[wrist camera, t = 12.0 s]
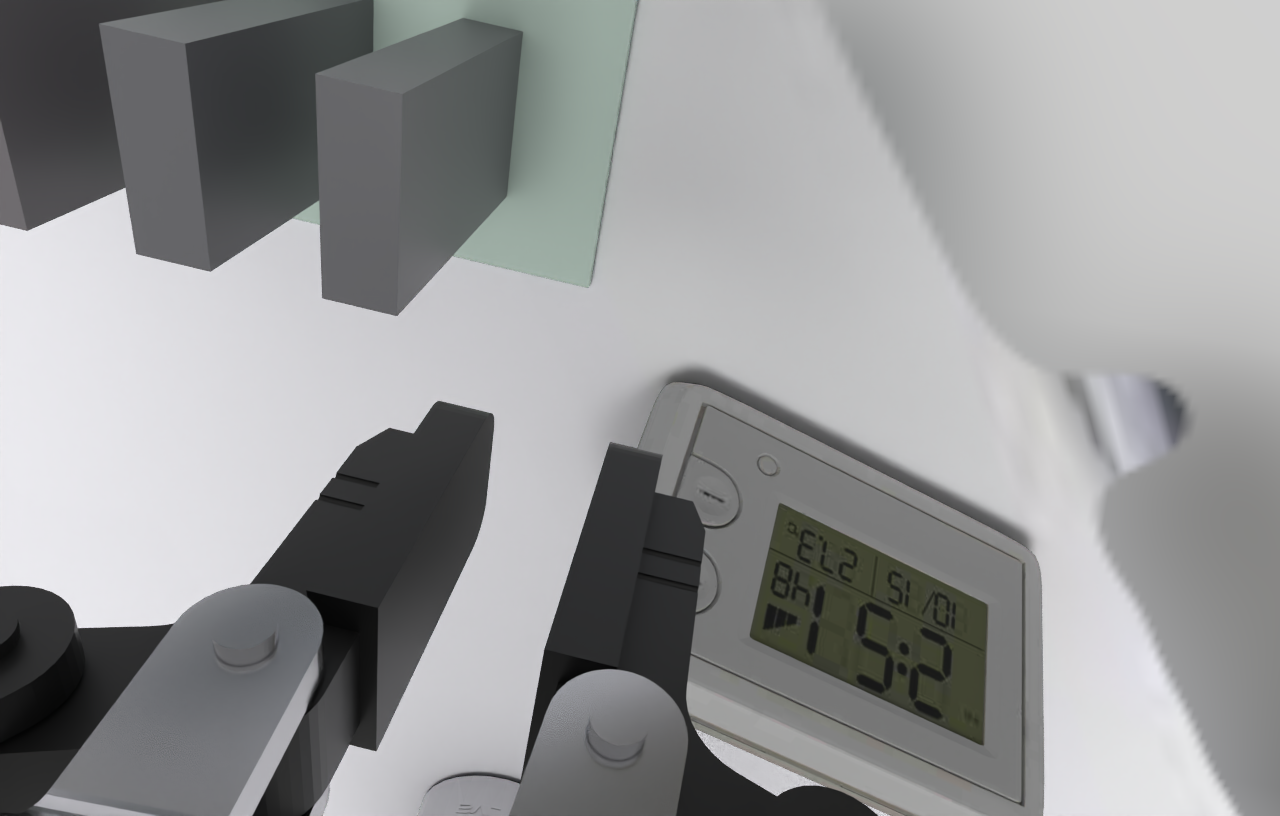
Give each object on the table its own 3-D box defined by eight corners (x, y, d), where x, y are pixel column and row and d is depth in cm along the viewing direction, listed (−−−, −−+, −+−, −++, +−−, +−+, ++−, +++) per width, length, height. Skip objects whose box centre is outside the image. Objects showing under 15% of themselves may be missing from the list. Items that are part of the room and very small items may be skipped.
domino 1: (240, 136, 27) (27, 231, 19) (187, 124, 27) (-46, 213, 19) (225, -35, 24) (-30, -3, 16) (167, -47, 24) (-114, -22, 17)
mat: (590, 283, 28) (588, 288, 28) (-129, 114, 29) (-140, 116, 28) (645, -43, 23) (642, -42, 22) (-244, -243, 23) (-259, -245, 23)
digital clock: (1056, 557, 31) (1165, 818, 22) (880, 667, 36) (914, 923, 27) (734, 301, 28) (713, 492, 19) (584, 459, 32) (509, 674, 23)
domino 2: (372, 165, 27) (210, 271, 19) (319, 152, 27) (136, 254, 19) (373, -3, 24) (185, 43, 16) (314, -17, 24) (98, 23, 16)
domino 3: (506, 196, 27) (397, 316, 19) (453, 184, 27) (322, 298, 19) (522, 31, 24) (402, 93, 16) (463, 17, 24) (315, 73, 16)
